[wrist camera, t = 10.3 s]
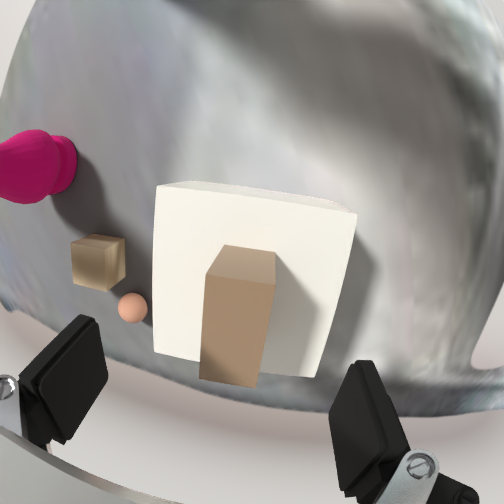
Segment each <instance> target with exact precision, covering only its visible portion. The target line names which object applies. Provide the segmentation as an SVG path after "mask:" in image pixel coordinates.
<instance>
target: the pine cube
mask: <svg viewBox="0 0 504 504" xmlns="http://www.w3.org/2000/svg"><path fill="white" fill-rule="evenodd" d="M71 257H72V270H73V281H74V284H78V285H82V286H86V287H90V288H94V289H98V290H102V291H106V292H107V291H108V290H109V289H111V288H112V287H113V286H114V285H116V284H117V283H118V282H119V281H121V280H122V279H123V278H124V277H125V238H119V237H113V236H106V235H100V234H91V235H88V236H86V237H83V238H81V239H79V240H77V241H74V242H72V243H71Z"/></svg>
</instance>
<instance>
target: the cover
mask: <svg viewBox="0 0 504 504" xmlns="http://www.w3.org/2000/svg"><path fill="white" fill-rule="evenodd" d="M357 217H358V214H356V213H354V212H352V211H350V210H349V209H347V208H345V207H343V206H341V205H339V204H337V203H335V202H333V201H331V200H326V199H321V198H315V197H309V196H303V195H297V194H291V193H285V192H279V191H272V190H265V189H258V188H251V187H244V186H236V185H228V184H220V183H211V182H202V181H193V180H192V181H185V182H178V183H171V184H165V185H159V186H157V191H156V204H155V218H154V238H153V273H152V301H153V337H154V352H157V353H161V354H165V355H170V356H174V357H179V358H183V359H188V360H193V361H197V362H200V368H199V379H203V380H209V381H214V382H219V383H225V384H231V385H238V386H244V387H251V388H256V384H257V379H258V375H259V372H265V373H273V374H281V375H291V376H301V377H315V374H316V371H317V368H318V365H319V362H320V359H321V356H322V353H323V350H324V347H325V344H326V341H327V337H328V334H329V331H330V327H331V324H332V321H333V317H334V314H335V310H336V307H337V303H338V299H339V296H340V292H341V288H342V284H343V280H344V276H345V272H346V268H347V264H348V259H349V255H350V251H351V246H352V242H353V237H354V232H355V227H356V222H357Z"/></svg>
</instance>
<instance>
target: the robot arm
mask: <svg viewBox="0 0 504 504" xmlns="http://www.w3.org/2000/svg"><path fill="white" fill-rule="evenodd" d="M19 378H20V379H19V380H18V381H16V379H15V378H14V377H12V376H10V375H0V504H181V503H177V502H173V501H169V500H165V499H161V498H158V497H154V496H150V495H147V494H144V493H141V492H138V491H134V490H132V489H129V488H125V487H123V486H120V485H117V484H114V483H112V482H109V481H107V480H105V479H102V478H100V477H97V476H95V475H93V474H90V473H88V472H86V471H84V470H82V469H79V468H77V467H75V466H73V465H71V464H69V463H67V462H65V461H63V460H61V459H59V458H58V457H56V456H53V455H52V451H51V447H50V441H51V440H52V439H53V440H55V441H57V442H59V443H61V444H63V445H64V444H65V443H66V441H67V440H70V439H71V438H72V437H73V435H74V433H75V432H76V430H77V429H78V427H79V425H80V424H81V422H82V420H83V419H84V417H85V416H86V414H87V412H88V411H89V409H90V408H91V406H92V404H93V403H94V401H95V400H96V398H97V396H98V395H99V393H100V392H101V390H102V389H103V387H104V386H105V384H106V382H107V380H108V371H107V366H106V362H105V357H104V352H103V347H102V342H101V337H100V331H99V325H98V323H96V322H95V319H94V318H92V317H89V316H86V315H82V314H80V315H78V316H77V317H76V318H75V319H74V320H73V321H72V322H71V323H70V324H69V325H68V326H67V327H66V328H65V329H64V330H63V331H61V332H60V333H59V334H58V336H56V337H55V338H54V339H53V340H52V341H51V342H50V343H49V344H48V345H47V346H46V347H45V348H44V349H43V350H42V351H41V352H40V353H39V354H38V355H37V356H36V357H35V358H34V360H33V361H32V362H31V363H30V364H29V365H28V366H27V367H26V368H25V369H24V370H23V371H22V372H21V373H20V374H19ZM329 424H330V431H331V436H332V443H333V449H334V454H335V461H336V468H337V474H338V481H339V488H340V490H341V491H344V494H345V497H355V496H356V498H357V502H358V504H479V496H478V494H477V492H476V491H475V490H474V489H473V488H471V487H469V486H467V485H465V484H462V483H460V482H458V481H455V480H454V479H451V478H449V477H447V476H445V475H443V474H441V473H439V463H438V461H437V459H436V457H435V456H434V455H433V454H432V453H430V452H429V451H427V450H423V449H415V450H411V449H410V447H409V444H408V441H407V439H406V436H405V433H404V431H403V428H402V426H401V423H400V421H399V418H398V415H397V413H396V410H395V408H394V406H393V403H392V401H391V398H390V397H389V396H388V395H387V393H386V390H385V388H384V386H383V383H382V381H381V379H380V376H379V374H378V372H377V369H376V367H375V365H374V363H373V361H371V360H357V361H356V362H355V363H354V364H351V365H350V367H349V369H348V371H347V374H346V376H345V378H344V381H343V383H342V385H341V387H340V390H339V392H338V394H337V396H336V398H335V401H334V403H333V405H332V407H331V409H330V411H329Z"/></svg>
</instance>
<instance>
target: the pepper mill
mask: <svg viewBox="0 0 504 504" xmlns="http://www.w3.org/2000/svg"><path fill="white" fill-rule="evenodd" d="M76 168H77V155H76V151H75V148H74V145H73V144H72V142H71V141H70V140H69V139H68V138H66V137H64V136H52V135H51V136H50V135H49V134H48V133H47V132H45V131H42V130H27V131H24V132H21V133H19V134H16V135H15V136H13V137H11V138H10V139H8V140H7V141H5V142H3V143H1V144H0V197H2V198H4V199H7V200H9V201H12V202H15V203H21V204H30V203H36V202H38V201H40V200H42V199H43V198H45V197H46V196H47V195H51V194H56V193H61V192H63V191H64V190H66V189H67V188H68V187H69V185H70V184H71V182H72V180H73V178H74V176H75V172H76Z"/></svg>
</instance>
